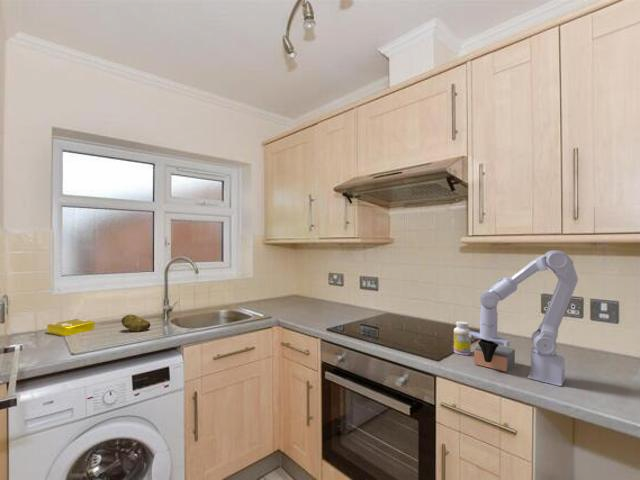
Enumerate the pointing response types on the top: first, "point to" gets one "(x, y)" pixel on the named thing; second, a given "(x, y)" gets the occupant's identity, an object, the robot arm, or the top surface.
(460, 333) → the supplement bottle
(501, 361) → the drawer
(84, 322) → the element tile
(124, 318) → the potato
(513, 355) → the storage box
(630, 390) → the top surface
